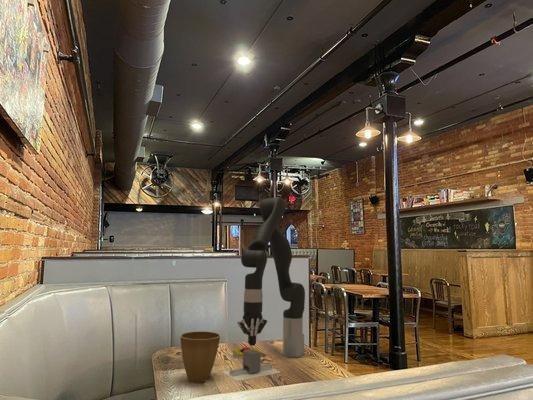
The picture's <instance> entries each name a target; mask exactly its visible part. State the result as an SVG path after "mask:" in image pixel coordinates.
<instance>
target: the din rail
mask: <svg viewBox="0 0 533 400" xmlns="http://www.w3.org/2000/svg"><path fill="white" fill-rule="evenodd" d="M240 368H241V369H239V368H235V370H233V369H230V371H229V375H231V376H232V377H233V376H238V375H244V374H249V368H243V367H240ZM272 368H273V364H270V363H266V364H265V363H264V365H262V364H261V367H260V371H265V370H270V369H272Z"/></svg>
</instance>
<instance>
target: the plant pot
mask: <svg viewBox="0 0 533 400" xmlns="http://www.w3.org/2000/svg"><path fill="white" fill-rule="evenodd" d="M220 338H221V334H220V333H218V332H213V331H199V330H198V331H189V332H184V333H182V334H180V337H179V339H180V350H181V355H182V361H183V365H184V366H183V367H184V371H185V374H186V377H187V380H188V382H191V383H204V382H205V381H206V380H208V379H209V378H210V375H211V373H212V371H213V368H214V363H215V360H216V357H217V354H218V349H219V344H220Z"/></svg>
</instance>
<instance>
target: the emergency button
mask: <svg viewBox="0 0 533 400" xmlns="http://www.w3.org/2000/svg"><path fill="white" fill-rule="evenodd" d="M250 349H254V350H256V351H258V352H260V353H261V358H262V357H263V352H262V350H260V349H259V348H258V347H247V346H244V347H242V348H234V349H233V350H232V351H233V352H232V354H230V355H229V357H230V358H231V359H234V360H235V359H238V360H240V359H242V360H243V351H244V350H250Z"/></svg>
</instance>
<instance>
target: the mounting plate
mask: <svg viewBox="0 0 533 400" xmlns="http://www.w3.org/2000/svg"><path fill="white" fill-rule="evenodd" d="M264 364H265V363H264ZM264 364H263V363H261V365H264ZM241 368H242V367H240V368H238V369H241ZM235 369H236V368H235ZM235 369H234V368H233V369H232V370H235ZM230 370H231V369H230ZM230 370H224V371H221V373H222V374H223V375H225V376H227V377H228V378H230V379H232V380H233V381H235V383H236V382H241V381H246V380H251V379H256V378H261V377H266V376H271V375H277V374H281V373H282V372H281V371H279V370H277V369H275V368H274V367H272V369H270V370H265V371H260V372H255V373H249V374H244V375H238V376H233V377H232V376H231V375H229V371H230Z"/></svg>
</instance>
